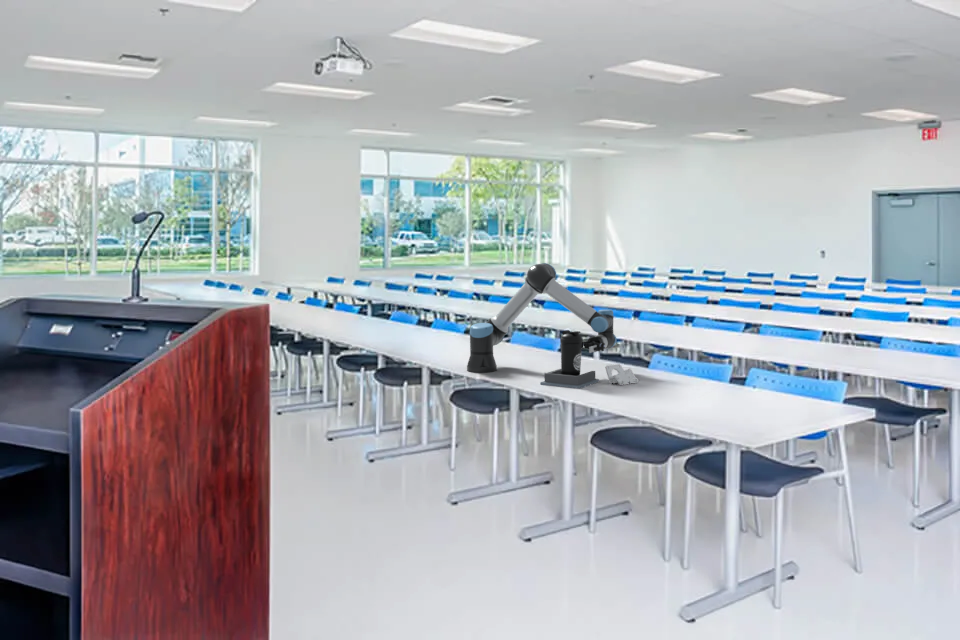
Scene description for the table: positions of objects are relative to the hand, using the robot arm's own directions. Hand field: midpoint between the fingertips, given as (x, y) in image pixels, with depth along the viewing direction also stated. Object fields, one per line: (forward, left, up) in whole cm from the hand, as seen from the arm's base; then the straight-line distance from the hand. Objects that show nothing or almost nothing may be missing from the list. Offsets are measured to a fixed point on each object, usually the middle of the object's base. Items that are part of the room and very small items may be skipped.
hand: (576, 348), depth 372 cm
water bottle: (0, -6, -14) cm, 15 cm away
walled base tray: (0, -6, -15) cm, 16 cm away
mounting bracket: (+20, +6, -15) cm, 26 cm away
